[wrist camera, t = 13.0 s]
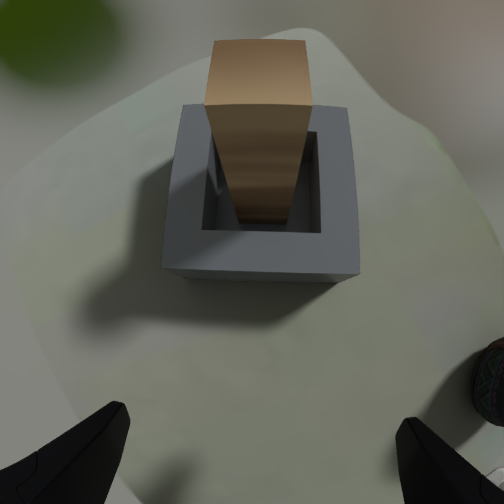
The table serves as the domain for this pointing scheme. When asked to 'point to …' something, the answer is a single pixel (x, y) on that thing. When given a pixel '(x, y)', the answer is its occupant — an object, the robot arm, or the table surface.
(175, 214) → the grey square socket holder
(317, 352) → the table surface
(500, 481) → the white cup
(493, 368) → the mate gourd
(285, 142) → the tall wooden pillar block
